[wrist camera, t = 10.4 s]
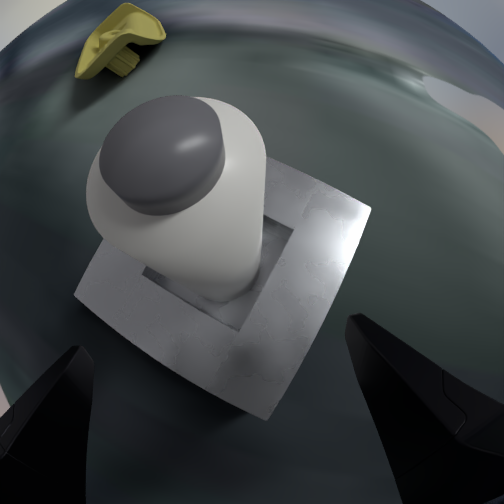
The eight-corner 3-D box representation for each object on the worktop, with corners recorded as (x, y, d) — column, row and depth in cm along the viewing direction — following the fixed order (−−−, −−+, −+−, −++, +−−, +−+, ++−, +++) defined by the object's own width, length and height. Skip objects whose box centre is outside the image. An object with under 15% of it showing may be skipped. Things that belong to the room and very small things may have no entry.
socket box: (353, 227, 19) (376, 202, 15) (264, 403, 16) (267, 425, 12) (193, 152, 21) (182, 118, 17) (100, 300, 18) (66, 293, 14)
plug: (275, 276, 17) (314, 167, 5) (206, 316, 17) (94, 291, 5) (236, 213, 18) (208, 54, 6) (172, 250, 18) (59, 134, 6)
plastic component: (86, 38, 26) (130, -4, 23) (116, 57, 33) (158, 19, 29) (69, 91, 20) (132, 23, 16) (116, 116, 26) (177, 60, 23)
